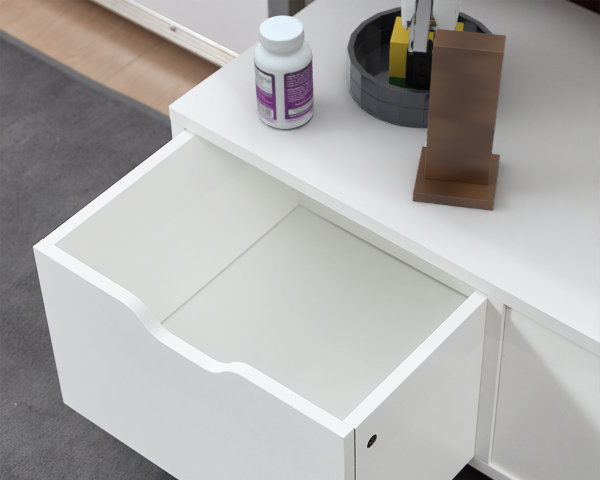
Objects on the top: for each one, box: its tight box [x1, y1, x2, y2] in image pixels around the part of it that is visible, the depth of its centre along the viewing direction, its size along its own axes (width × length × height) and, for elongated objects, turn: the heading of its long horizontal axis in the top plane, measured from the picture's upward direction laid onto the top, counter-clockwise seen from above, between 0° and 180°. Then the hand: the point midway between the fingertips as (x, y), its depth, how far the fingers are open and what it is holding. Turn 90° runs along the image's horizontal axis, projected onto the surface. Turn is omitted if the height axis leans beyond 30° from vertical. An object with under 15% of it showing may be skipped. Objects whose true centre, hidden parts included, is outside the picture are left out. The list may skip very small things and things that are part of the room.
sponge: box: [389, 17, 464, 90], centre depth 117 cm, size 6×4×5 cm, turn 79°
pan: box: [346, 6, 494, 129], centre depth 118 cm, size 14×14×4 cm
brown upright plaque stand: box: [412, 29, 507, 211], centre depth 104 cm, size 7×6×15 cm
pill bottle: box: [253, 15, 315, 130], centre depth 113 cm, size 5×5×10 cm
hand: (425, 68), depth 118 cm, fingers closed on sponge, 4 cm apart
